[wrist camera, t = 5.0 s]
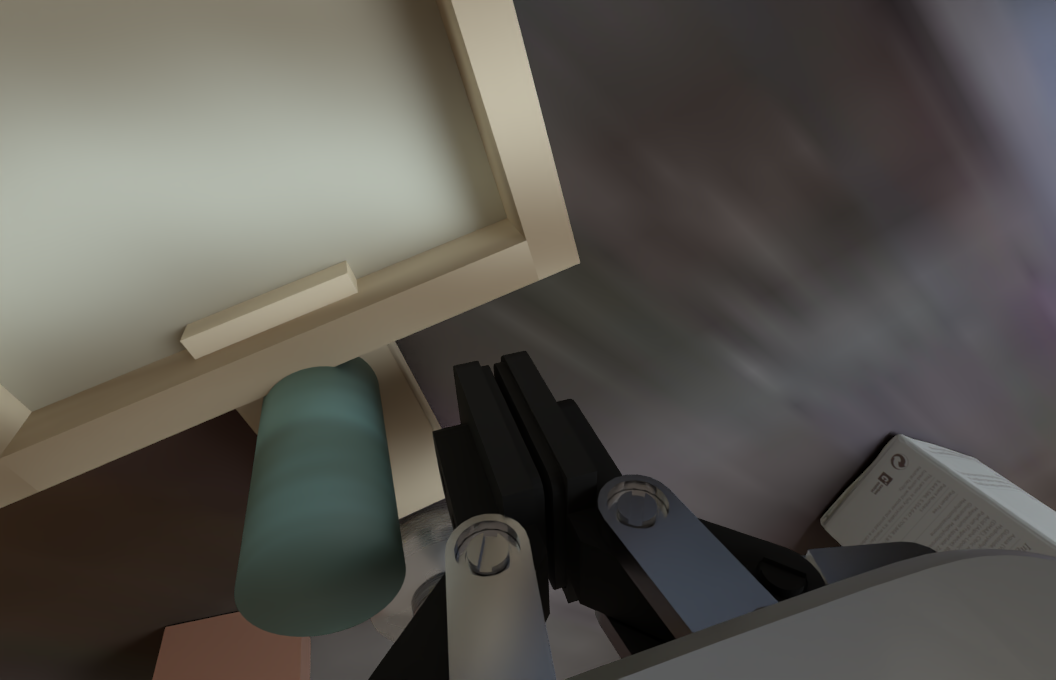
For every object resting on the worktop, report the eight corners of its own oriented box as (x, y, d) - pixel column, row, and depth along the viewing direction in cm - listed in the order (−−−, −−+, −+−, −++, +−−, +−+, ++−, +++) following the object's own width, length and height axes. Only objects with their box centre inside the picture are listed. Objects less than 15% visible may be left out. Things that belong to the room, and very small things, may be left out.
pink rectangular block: (310, 641, 20) (309, 731, 17) (182, 670, 18) (161, 772, 16) (302, 598, 19) (299, 688, 16) (165, 627, 17) (139, 729, 15)
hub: (501, 563, 21) (527, 647, 18) (368, 592, 19) (375, 686, 17) (509, 467, 18) (541, 547, 16) (359, 491, 17) (366, 583, 14)
